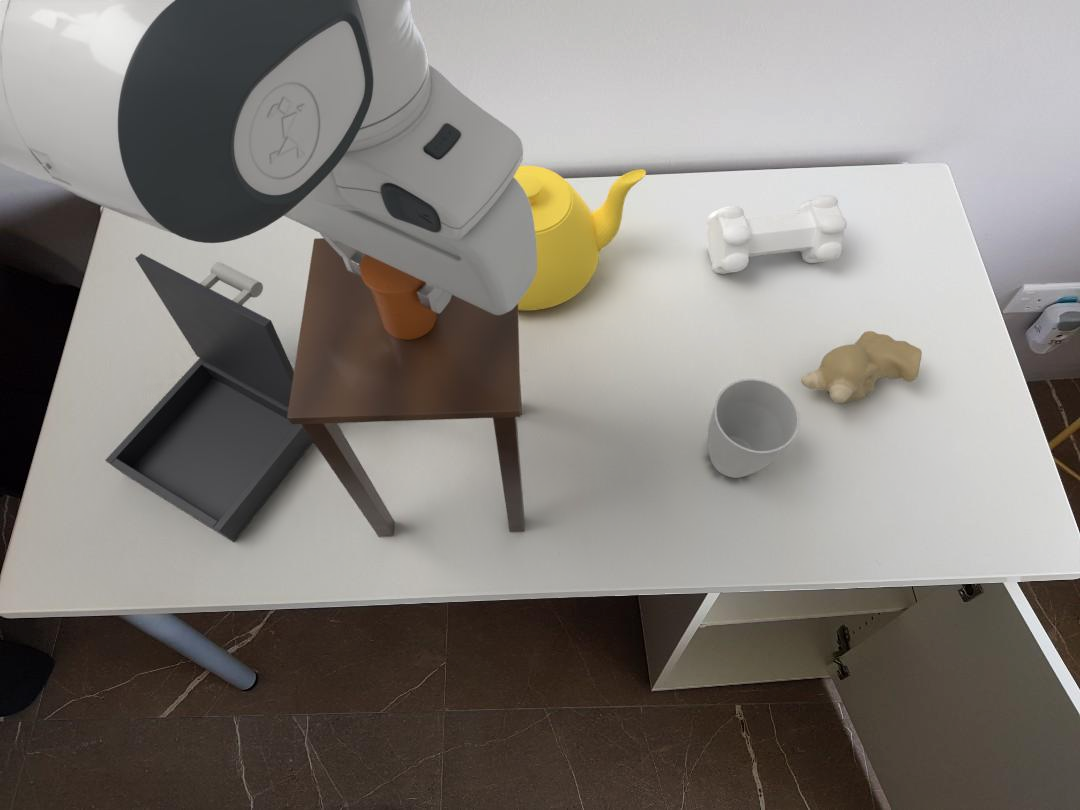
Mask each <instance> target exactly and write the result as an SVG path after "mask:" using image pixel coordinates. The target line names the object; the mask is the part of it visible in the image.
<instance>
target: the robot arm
mask: <svg viewBox="0 0 1080 810" xmlns="http://www.w3.org/2000/svg"><path fill="white" fill-rule="evenodd" d="M413 18H414V17H413V15H412V9H411V0H0V165H2V166H6V167H8V168H10V169H13V170H15V171H18V172H20V173H22V174H26V175H28V176H30V177H32V178H34V179H38V180H40V181H43V182H45V183H48V184H50V185H52V186H55V187H58V188H60V189H62V190H65V191H67V192H70V193H72V194H74V195H76V196H77V197H79V198H81V199H84V200H86V201H89V202H91V203H93V204H96V205H99V206H101V207H103V208H106V209H108V210H110V211H113V212H116V213H117V214H120V215H122V216H126V217H128V218H131V219H133V220H136V221H138V222H141V223H144V224H146V225H148V226H151V227H154V228H155V229H158V230H161V231H164V232H168V233H170V234H174V235H176V236H178V237H180V238H183V239H186V240H188V241H192V242H197V243H204V244H218V243H219V244H220V243H221V244H222V243H225V242H226V243H227V242H231V241H236V240H238V239H242V238H245V237H247V236H250V235H253V234H255V233H257V232H259V231H261V230H263V229H265V228H267V227H268V226H270V225H272V224H273V223H275V222H276V221H278V220H280V219H281V218H282V217H285V218H288V219H289V220H292V221H294V222H296V223H299V224H300V225H303V226H305V227H306V228H309V229H311V230H313V231H315V232H317V233H319V234H320V236H321V238H324V239H325V240H326V241H327V242H328V243H329V244H330V245H331V246H332V247H333V248H334V250H335V251H336V252H337V253H338V254H339V255H340V256H342V258H343V260H344V263H345V265H346V268H347V270H348V271H350V272H353V273H355V274H357V275H359V276H361V273H360V264H361V261H362V258H363V256H364V255H365V254H366V255H368V256H371V257H373V258H375V259H377V260H379V261H381V262H383V263H386V264H388V265H390V266H392V267H394V268H396V269H398V270H401V271H403V272H405V273H407V274H409V275H411V276H413V277H415V278H418V279H420V280H422V281H424V282H425V284H423V285H421V287H420V288H419V289H418V291H417V296H418V298H419V300H420V301H419V303H420V305H422V306H424V307H426V308H428V309H430V310H432V311H434V312H436V313H438V314H439V313H441V312H442V311H443V309H444V308H445V307H446V305H447V304H448V303H449V301H450V299H451V296H452V295H454V296H456V297H458V298H460V299H462V300H464V301H467V302H469V303H471V304H473V305H475V306H477V307H479V308H481V309H484V310H486V311H488V312H490V313H492V314H494V315H502V314H505V313H507V312H509V311H511V310H512V309H513V308H514V307H515V306H516V305H517V304H518V303H519V301H520V300H521V299H522V297H523V296H524V294H525V293H526V291H527V290H528V288H529V287H530V285H531V283H532V282H533V280H534V278H535V275H536V271H537V246H536V235H535V226H534V220H533V214H532V209H531V205H530V202H529V199H528V197H527V194H526V193H525V191H524V189H523V188H522V186H521V185H520V183H519V182H518V181H517V180H516V179H515V178H514V175H515V173H516V171H517V170H518V168H519V166H521V165H522V162H523V160H524V146H523V142H522V140H521V138H520V137H519V135H518V134H517V132H515V131H514V130H513V129H512V128H511V127H509V126H508V125H506V124H505V123H503V122H502V121H500V120H499V119H498V118H496V117H495V116H493V115H492V114H491V113H489V112H488V111H487V110H485V109H483V108H482V107H481V106H479V105H478V104H477V103H476V102H474V101H473V100H472V99H470V98H469V97H468V96H466V95H465V94H464V93H463V92H462V91H461V90H460V89H458V88H457V87H456V86H455V85H454V84H453V83H452V82H451V81H450V80H449V79H448V78H447V77H446V76H445V75H443V73H442V72H440V70H438V69H437V68H436V67H434V66H433V65H431V64H429V61H428V59H429V58H428V54H427V50H426V45H425V42H424V39H423V38H422V35H421V33H420V30H419V29H418V27H417V26H416V23H415V21H414V19H413ZM361 277H362V276H361Z"/></svg>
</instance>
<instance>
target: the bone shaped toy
mask: <svg viewBox="0 0 1080 810" xmlns="http://www.w3.org/2000/svg"><path fill="white" fill-rule="evenodd" d="M838 203H839V200H838V198H837V197H836V196H834V195H830V194H828V195H827V194H824V195H818V196H817V197H814V198H812V199H808V200H805V201H803V202H802V203H801V204H800V205H799V206H798V209H797V213H789V214H780V215H773V216H763V217H755V218H754V217H753V218H746V217H745V212H744V209H743V207H740V206H739V205H727V206H723V207H721V208H719V209H717V210H715V211H713V212H711V213H710V214H709V215H708V217H707V219H706V220H707V221H706V222H707V241H706V243H705V249H706V251H707V252H708V255H709V259H710V261H711V264H712V266H711V269H712V270H713V271H712V272H714V273H716V274H720V275H721V274H724V275H725V274H731V273H737V272H741V271H743V270H745V268H747V266H748V264H749V261H750V260H749V259H750V258H749V257H757V256H767V255H775V254H785V253H791V252H800V254H801V258H802V260H803V261H804V262H805V263H808V264H817V263H822V262H830V261H834V260H836V259H838V258H839V257H840V256H841V255H842V252H843V240H844V233H845V230H846V228H847V226H848V222H847V220H846V218H845V217H844V215H843V214H842V211H841V209H840V207H839V204H838Z"/></svg>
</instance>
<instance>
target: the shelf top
mask: <svg viewBox="0 0 1080 810" xmlns="http://www.w3.org/2000/svg"><path fill="white" fill-rule="evenodd" d="M304 297H305V298H304V303H303V309H302V317H301V323H300V329H299V337H298V342H297V343H298V344H297V349H296V357H295V362H294V368H293V370H294V375H293V382H292V389H291V395H290V402H289V408H288V415H287V419H288V420H289V422H290V423H291V424H322V423H337V424H346V423H347V424H348V423H349V424H351V423H380V422H404V421H405V422H409V421H411V422H412V421H437V420H438V421H439V420H469V419H471V420H472V419H493V418H503V417H517V418H520V417H521V416H522V415H521V405H520V384H521V371H520V369H521V368H520V367H521V366H520V325H519V322H520V321H519V310H518V304H517V305H516V306H515V307H514V308H513V309H512V310H511V311H509V312H507V313H505V314H502V315H494V314H492V313H490V312H488V311H486V310H484V309H481V308H479V307H477V306H475V305H473V304H471V303H469V302H467V301H464V300H462V299H460V298H458V297H456V296H454V295H452V296H451V299H450V301H449V303H448V304H447V305H446V307H445V308H444V309H443V311H442V312H441V313H439V314H438V313H437V317H436V322H435V324H434V326H433V327H432V329H431V330H430V331H429V332H428V333H426V334H425V335H423V336H421V337H419V338H416V339H411V340H404V339H399V338H396V337H394V336H392V335H390V334H389V333H388V332H387V331H386V329H385V328H384V326H383V323H382V320H381V317H380V314H379V311H378V308H377V306H376V303H375V300H374V297H373V294H372V291H371V289H370V288H368V287H367V286H366V284H365V283H364V281H363V279H362V277H361V276H359V275H357V274H355V273H353V272H350V271H348V270H347V268H346V265H345V263H344V260H343V258H342V256H340V255H339V254H338V253H337V252H336V251H335V250H334V248H333V247H332V246H331V245H330V244H329V243H328V242H327V241H326V240H325V239H324V238H323V237H320V238H319V237H318V238H316V237H315V238H314V239H313V245H312V252H311V258H310V264H309V269H308V277H307V283H306V290H305V296H304Z"/></svg>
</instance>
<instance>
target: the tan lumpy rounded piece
mask: <svg viewBox="0 0 1080 810" xmlns="http://www.w3.org/2000/svg"><path fill="white" fill-rule="evenodd" d="M922 353H923V352H922V349H921V348H919V347H917V346H915V345H912V344H911V343H909V342H907V341H905V340H896V339H894V338H892V337H891V336H890V335H888V334H881V333H877V332H875V331H874V330H873V331H872V330H867V331H864V332H863V333H862V334H861V336H860V337H859V338H858V339H857V341H855V343H853V344H845V345H841V346H838V347H836V348H833V349H831V350H830V351H829V352H827V353H826V354H825V355H824V356H823V358H821V359H822V360H821V362H820V366H819V367H818V369H816V370H814V371H809V372H808V373H807V374H805V375H803V376H801V377H800V383H801V384H802V385H803V386H804V387H806V388H807V389H809V390H816V391H817V390H819V391H820V390H821V391H825V392H828V393H829V396H830V399H831V400H832V401H834V402H835V403H839V404H840V403H843V404H847V403H849V402H852V401H854V400H855V401H858V400H861V399H862V398H864V397H865V396H867V395H869V394H871V393H873V392H874V391H875V383H876V382H877V380H878V379H880V378H885V379H889V380H896V379H897V380H898V379H902V380H904V382H905V383H911V382H914V381H915V380H916V379H917V378H918V375H919V372H920V366H921V361H922V356H923V354H922Z"/></svg>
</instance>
